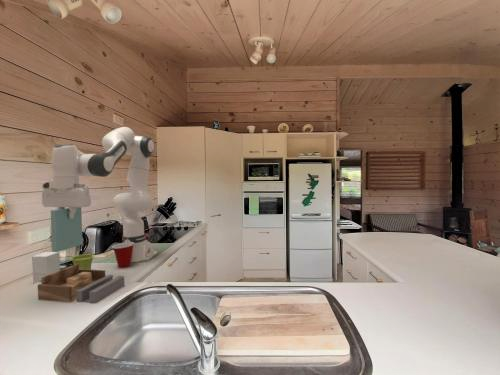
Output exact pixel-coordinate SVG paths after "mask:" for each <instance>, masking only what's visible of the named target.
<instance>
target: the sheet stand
mask: <svg viewBox="0 0 500 375" xmlns="http://www.w3.org/2000/svg"><path fill="white" fill-rule="evenodd" d="M123 287H125V276H124V275H117V277H114V276H113V275H112V274H107V275H105V277H103V278H101V279H99V280H97V281H95V282H93V283H91V284H89V285H87V286H85V287H83V288H81V289H79V290H77V291H76V299H75V300H76V303H77V302H78V303H88V304H96V303H98V302H100V301H101V300H103V299H105V298H106V297H108V296H109V295H112V294H113V293H115V292H116V291H118V290H119V289H122V288H123Z"/></svg>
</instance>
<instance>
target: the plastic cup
mask: <svg viewBox="0 0 500 375" xmlns="http://www.w3.org/2000/svg"><path fill="white" fill-rule="evenodd" d="M133 245H134V242H125V243H123V242H121V243H120V242H119V243H116V244H114V245H112V246H111V248H112V249H113V251H114V256H115V260H116V262H117V267H118V268H121V269H123V268H129V267H130V266H131V263H132V262H131V258H132V250H133Z"/></svg>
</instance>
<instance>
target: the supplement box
mask: <svg viewBox="0 0 500 375" xmlns="http://www.w3.org/2000/svg"><path fill="white" fill-rule="evenodd" d="M31 262H32V265H31V266H32V283H33V285H34V284H36V283H39V282H41V278H42V277H44V276H47V275H49V274H52V273H55V272H57V271H60V270H61V262H60V251H58V252H52V251H44V252H42V253H38V254H35V255H32V256H31Z"/></svg>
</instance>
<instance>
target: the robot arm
mask: <svg viewBox="0 0 500 375" xmlns="http://www.w3.org/2000/svg"><path fill="white" fill-rule="evenodd" d="M101 144H102V147H103V149H104V150H105V152H99V153H84V152H82V151H81V150H79V149H78V147H77V145H75V144H74V143H73V144H72V143H71V144H70V143H69V144H67V143H66V144H57V145H55V146H53V148H52V150H51V168H52V176H51V179H50V180H48V181H45V182H43V183H42V184H41V189H43V190H42V192H41V203H42V205H43V207H44V208H57V209H56V210H58V209H66V208H69V210H70V213H69V214H67V216H68V217H67V218H69V219H72V218H74V213H75V211H76V210H77V208H76V207H81V208H89V207H91V206H92V198H91V194H90V193H91V192H90V189H89V187H88V185H87V184H85V183H80V177H100V178H104V177H108V176H109V175H111V174H112V171H113V170H114V168H115V166H116V164H118V162H119V161H120V160H121V159H122V158H123V157H124V156H125V155H127V156H128V155H129V156H131V158H130V159H131V160H130V162H129V166H128V171H127V174H126V175H127V177H126V183H127V184H128V185H129V187H130V192H122V193H118V194H115V196H114V198H113V199H112V204H113V207H114V208H115V209H116V210H117V211H118V214H119V215H120V218H121V221H122V229H123V230H122V232H123V233H122V243H125V242H134V245H133V250H132V258H131V263H137V262H143V261H149V260H151V259H152V258H153V257H154V256H156V255H157V254H158V251H157V250H154V245H153V243H152V242H150V241H148V240H147V238H148V237H149V233H145V223H144V220H143V219H142V218H141V217H140V214H139V213H142V212H147V211H150V210H151V209H152V208H153V205H154V199H153V196H152V195H151V194H150V193H149V190H148V178H149V172H150V157H151V155H152V154H153V152H154V150H155V142H154V140H153V138H151V137H149V136H142V135H141V136H140V135H135V132H134V130H132V129H131V127H128V126H121V127H118V128H115V129H113V130H111V131H109V132H108V133H106V134H105V135H104V136H103V138H102V139H101Z"/></svg>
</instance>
